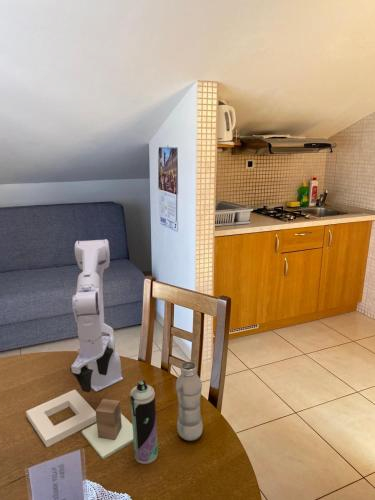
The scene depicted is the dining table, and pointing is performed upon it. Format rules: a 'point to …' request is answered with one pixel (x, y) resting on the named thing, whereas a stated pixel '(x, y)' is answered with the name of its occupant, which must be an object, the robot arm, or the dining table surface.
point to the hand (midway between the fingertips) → (94, 382)
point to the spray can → (144, 423)
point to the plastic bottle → (189, 402)
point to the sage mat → (107, 445)
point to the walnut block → (108, 419)
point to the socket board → (67, 427)
